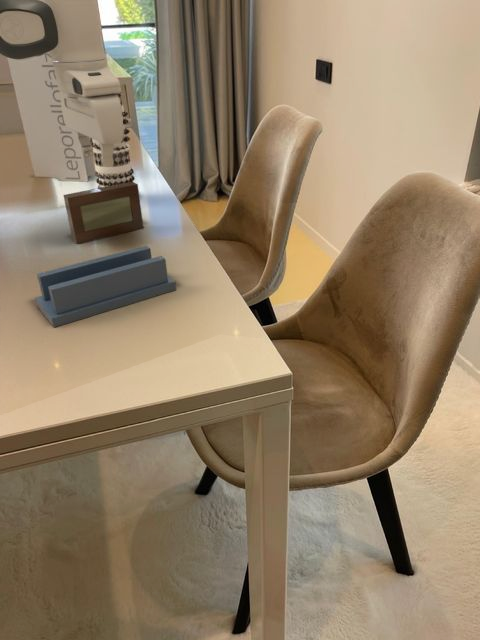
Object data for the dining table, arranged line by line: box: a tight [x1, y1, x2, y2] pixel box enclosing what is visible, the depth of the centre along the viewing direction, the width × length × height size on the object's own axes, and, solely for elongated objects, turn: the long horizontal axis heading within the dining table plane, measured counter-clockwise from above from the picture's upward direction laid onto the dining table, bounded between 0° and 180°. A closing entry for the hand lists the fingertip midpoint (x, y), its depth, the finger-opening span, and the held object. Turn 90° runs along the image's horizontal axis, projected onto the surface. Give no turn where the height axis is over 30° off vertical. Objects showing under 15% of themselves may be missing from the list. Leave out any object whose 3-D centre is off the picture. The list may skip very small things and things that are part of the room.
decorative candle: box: [90, 91, 136, 188], centre depth 122 cm, size 9×9×25 cm
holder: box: [34, 245, 177, 328], centre depth 87 cm, size 8×20×6 cm, turn 126°
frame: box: [62, 181, 144, 245], centre depth 109 cm, size 2×14×9 cm, turn 126°
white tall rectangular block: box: [6, 53, 96, 182], centre depth 137 cm, size 14×6×30 cm, turn 82°
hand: (97, 160), depth 104 cm, fingers open, 8 cm apart
